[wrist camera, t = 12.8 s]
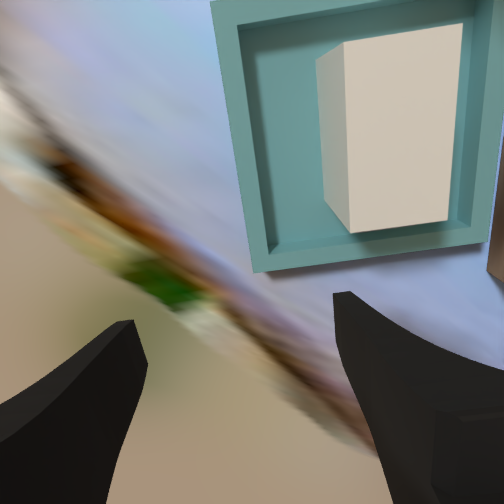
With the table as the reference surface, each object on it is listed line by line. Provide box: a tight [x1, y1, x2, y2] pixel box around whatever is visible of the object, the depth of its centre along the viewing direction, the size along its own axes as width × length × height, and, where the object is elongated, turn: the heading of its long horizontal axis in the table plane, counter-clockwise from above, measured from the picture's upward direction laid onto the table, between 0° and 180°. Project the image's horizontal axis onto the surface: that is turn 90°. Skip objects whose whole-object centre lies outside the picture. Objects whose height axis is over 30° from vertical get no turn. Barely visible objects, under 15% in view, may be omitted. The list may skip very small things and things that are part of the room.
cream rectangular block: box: [315, 23, 463, 233], centre depth 16 cm, size 8×4×6 cm, turn 8°
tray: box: [210, 0, 504, 273], centre depth 18 cm, size 13×13×2 cm
